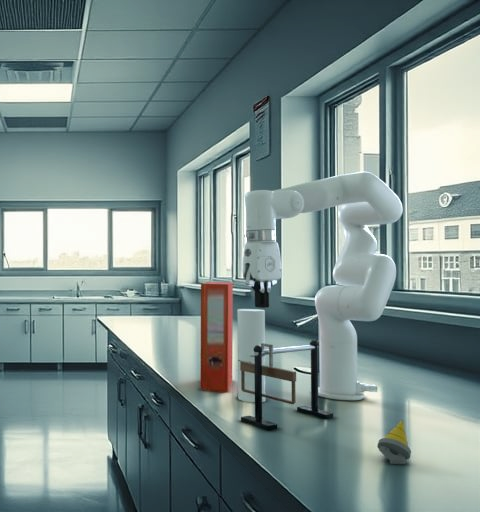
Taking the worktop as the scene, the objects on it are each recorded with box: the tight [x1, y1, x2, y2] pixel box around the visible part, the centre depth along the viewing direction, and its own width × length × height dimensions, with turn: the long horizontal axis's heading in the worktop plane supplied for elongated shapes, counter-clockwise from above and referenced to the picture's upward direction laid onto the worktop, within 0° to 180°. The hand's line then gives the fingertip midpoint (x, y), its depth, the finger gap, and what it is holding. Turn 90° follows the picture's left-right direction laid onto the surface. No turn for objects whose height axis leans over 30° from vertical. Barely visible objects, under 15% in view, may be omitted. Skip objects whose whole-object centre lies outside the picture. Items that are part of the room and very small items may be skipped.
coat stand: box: [240, 339, 334, 432], centre depth 133 cm, size 23×8×19 cm, turn 117°
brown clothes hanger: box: [240, 343, 297, 405], centre depth 130 cm, size 1×15×13 cm, turn 27°
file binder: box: [199, 281, 234, 393], centre depth 171 cm, size 8×17×32 cm, turn 156°
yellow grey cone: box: [377, 420, 412, 465], centre depth 106 cm, size 5×5×10 cm
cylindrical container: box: [236, 308, 266, 403], centre depth 154 cm, size 7×7×25 cm
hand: (262, 307), depth 144 cm, fingers closed
